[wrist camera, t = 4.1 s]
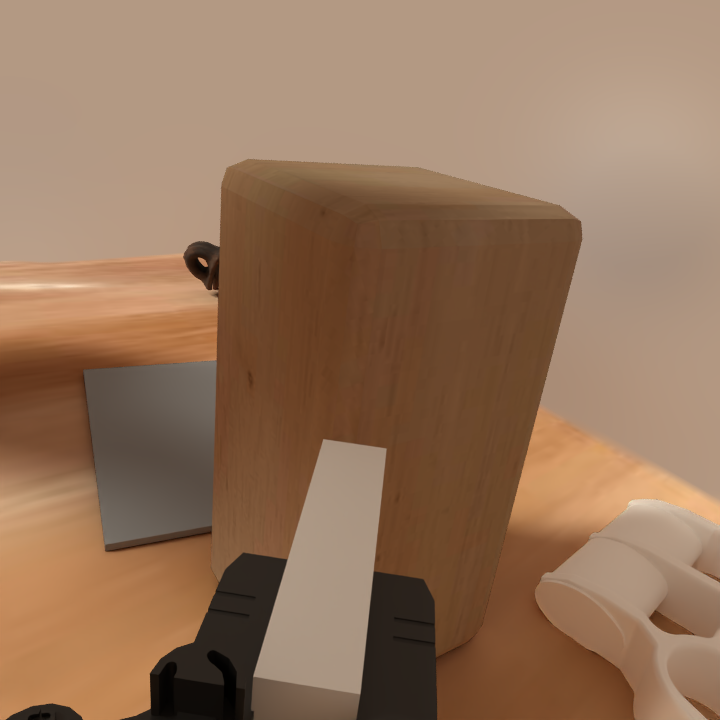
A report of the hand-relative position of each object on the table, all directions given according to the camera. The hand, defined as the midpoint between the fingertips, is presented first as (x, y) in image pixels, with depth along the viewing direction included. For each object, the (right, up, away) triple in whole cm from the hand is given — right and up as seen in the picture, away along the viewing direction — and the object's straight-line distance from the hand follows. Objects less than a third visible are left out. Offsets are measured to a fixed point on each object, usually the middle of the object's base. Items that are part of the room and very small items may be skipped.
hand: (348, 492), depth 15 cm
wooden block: (-1, -9, +15) cm, 18 cm away
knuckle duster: (+18, -11, +16) cm, 27 cm away
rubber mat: (-6, -1, +30) cm, 31 cm away
